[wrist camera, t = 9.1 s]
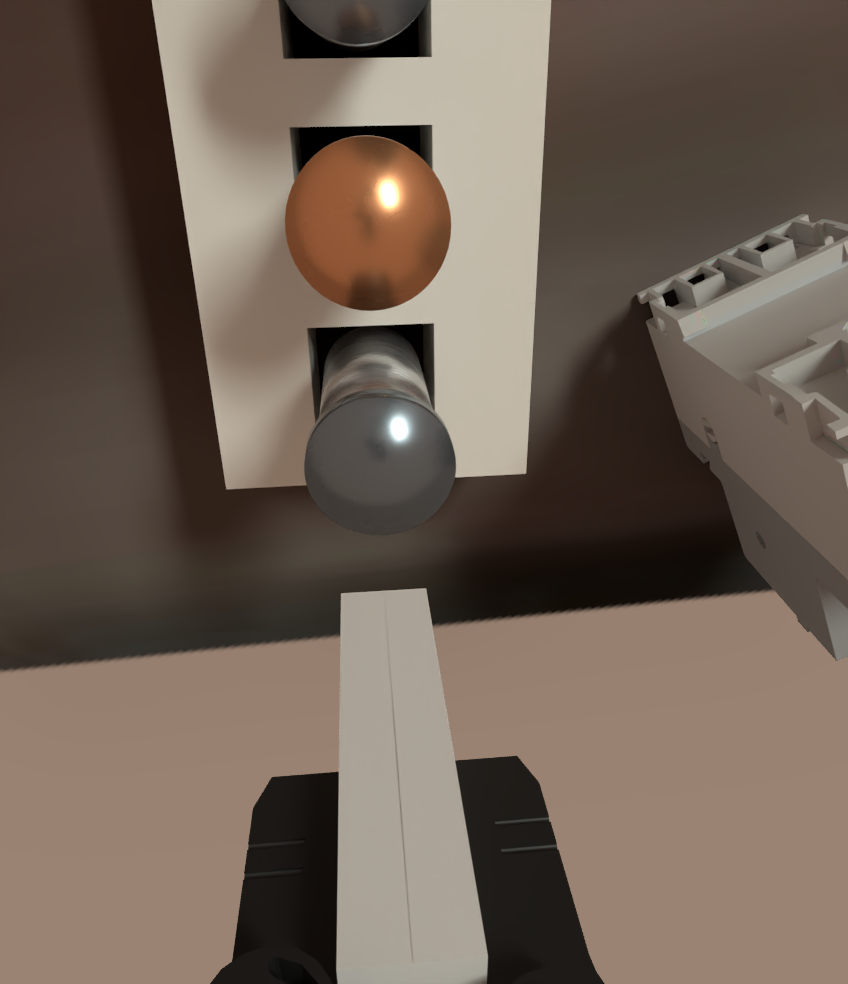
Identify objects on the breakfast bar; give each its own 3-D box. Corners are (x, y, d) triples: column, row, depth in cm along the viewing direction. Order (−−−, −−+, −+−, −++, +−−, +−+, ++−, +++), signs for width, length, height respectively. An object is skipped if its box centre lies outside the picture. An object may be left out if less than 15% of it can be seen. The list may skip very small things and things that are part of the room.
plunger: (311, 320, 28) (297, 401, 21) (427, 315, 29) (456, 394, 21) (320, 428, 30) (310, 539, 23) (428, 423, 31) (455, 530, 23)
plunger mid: (298, 128, 27) (276, 138, 19) (422, 126, 27) (451, 134, 19) (308, 256, 29) (293, 313, 21) (424, 253, 29) (451, 307, 21)
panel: (161, -155, 24) (119, -213, 20) (524, -152, 25) (561, -207, 21) (242, 439, 34) (226, 489, 30) (503, 427, 35) (526, 473, 31)
